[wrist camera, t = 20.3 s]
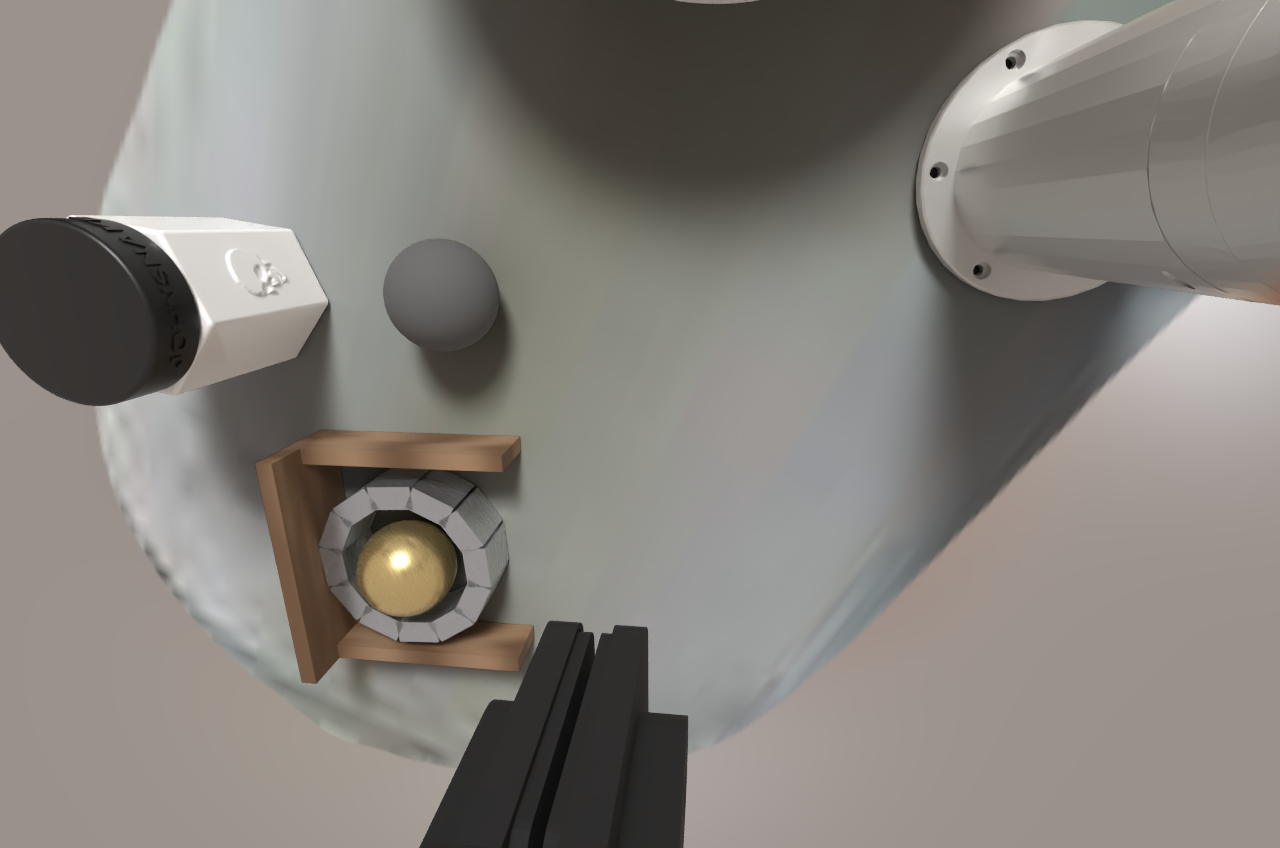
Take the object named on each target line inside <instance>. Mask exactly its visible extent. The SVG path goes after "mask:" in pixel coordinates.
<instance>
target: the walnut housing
mask: <svg viewBox="0 0 1280 848" xmlns="http://www.w3.org/2000/svg"><path fill="white" fill-rule="evenodd" d="M520 452H521V445H520V436H494V435H463V434H432V433H402V432H371V431H340V430H319V431H317V432H315V433H313V434H311V435H309V436H307V437H305V438H303V439H301V440H299V441H297V442H295V443H293V444H291V445H289V446H288V447H286V448H284V449H282V450H280V451H278V452H276V453H274V454H272V455H270V456H268V457H266V458H264V459H262V460H260V461H258V462H256V463H255V467H256V471H257V476H258V481H259V485H260V490H261V495H262V499H263V504H264V509H265V513H266V518H267V523H268V527H269V532H270V537H271V541H272V546H273V550H274V555H275V560H276V564H277V569H278V574H279V578H280V583H281V588H282V592H283V597H284V602H285V606H286V611H287V616H288V620H289V625H290V630H291V634H292V639H293V644H294V648H295V653H296V658H297V662H298V667H299V672H300V676H301V681H302V683H313V684H317V683H318V681H319V680H320V679H321V678H322V677H323V676H324V675H325V673H326V672H327V671H328V670H329V669H330V668H331V667H332V665H333V664H334V663H335V662H336V661H337V660H338V658H351V659H363V660H376V661H389V662H402V663H415V664H427V665H440V666H453V667H466V668H479V669H491V670H504V671H517V672H519V671H520V668H521V666H522V664H523V662H524V659H525V657H526V655H527V653H528V650H529V648H530V646H531V644H532V641H533V639H534V628H533V625H519V624H504V623H490V622H475V623H474V624H473V625H472V626H470V627H468V628H466V629H464V630H462V631H461V632H459V633H457V634H455V635H453V636H452V637H450V638H448V639H446V640H444V641H441V640H440V641H439V642H400V639H399V638H398V639H397V641H396V640H394V639H392V638H390V637H388V636H386V635H384V634H382V633H380V632H378V631H376V630H374V629H372V628H370V627H368V626H365V625H363V624H361V623H359V622H360V619H361V618H359V619H358V620H356V619H355V618H354V617H353V616H352V615H351V613H350V612H349V611H348V610H347V609H346V608H345V606H344V605H343V604H342V603H341V602H340V601H339V599H338V598H337V597H336V596H335V595H334V593H333V592H332V591H331V590H330V588H331V587H332V586H328V584H327V580H326V576H325V572H324V568H323V564H322V560H321V556H320V552H319V548H320V547H321V546H319V543H320V541H321V538H322V535H323V532H324V529H325V526H326V523H327V520H328V517H329V515H330V512H331V511H332V510H333V508H335V507H336V506H337V505H339V504H340V503H341V502H343V501H344V500H345V499H346V497H345V491H344V485H343V480H342V474H341V468H340V466H359V467H385V468H410V469H435V470H460V471H485V472H503V471H504V470H505V469H506V468H507V467H508V466H509V464H510V463H511V462H512V461H513V460H514V459H515V457H516V456H517V455H518V454H519V453H520Z"/></svg>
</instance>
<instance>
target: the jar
mask: <svg viewBox="0 0 1280 848" xmlns="http://www.w3.org/2000/svg"><path fill="white" fill-rule="evenodd" d="M327 305H328V299H327V297H326V295H325V293H324V291H323V289H322V288H321V286H320V284H319V282H318V280H317V278H316V276H315V274H314V272H313V270H312V268H311V266H310V264H309V262H308V260H307V258H306V256H305V254H304V252H303V250H302V248H301V246H300V244H299V242H298V240H297V238H296V236H295V234H294V233H293V231H292V230H290V229H285V228H279V227H273V226H267V225H261V224H255V223H250V222H244V221H238V220H232V219H226V218H207V217H147V216H87V215H86V216H85V215H71V216H68V217H67V218H37V219H31V220H26V221H23V222H19V223H17V224H15V225H13V226H11V227H10V228H8V229H7V230H5V231H4V232H3V233H2V234H1V235H0V343H1V345H2V347H3V348H4V350H5V351H6V353H7V354H8V355H9V357H10V358H11V359H12V360H13V362H14V363H15V364H16V365H17V366H18V367H19V368H20V369H21V370H22V371H23V372H24V373H25V374H26V375H27V376H28V377H29V378H30V379H32V380H33V381H34V382H35V383H37V384H38V385H40V386H41V387H42V388H44V389H46V390H47V391H49V392H51V393H53V394H54V395H56V396H58V397H61V398H63V399H66V400H69V401H72V402H75V403H79V404H83V405H91V406H106V405H113V404H117V403H120V402H124V401H127V400H130V399H134V398H137V397H141V396H144V395H147V394H151V393H154V392H158V393H164V394H169V395H179V394H182V393H185V392H188V391H191V390H195V389H198V388H201V387H204V386H207V385H211V384H214V383H217V382H220V381H223V380H227V379H230V378H233V377H236V376H239V375H243V374H246V373H249V372H252V371H255V370H258V369H262V368H265V367H268V366H271V365H274V364H278V363H281V362H284V361H287V360H290V359H294V358H296V357H297V355H298V354H299V352H300V350H301V349H302V347H303V345H304V344H305V342H306V340H307V339H308V337H309V335H310V334H311V332H312V330H313V328H314V327H315V325H316V323H317V322H318V320H319V318H320V317H321V315H322V313H323V312H324V310H325V308H326V307H327Z"/></svg>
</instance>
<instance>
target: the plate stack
mask: <svg viewBox="0 0 1280 848" xmlns="http://www.w3.org/2000/svg"><path fill="white" fill-rule="evenodd" d="M676 1H682V2H690V3H703V4H730V3H742V2H751V1H757V0H676Z"/></svg>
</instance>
